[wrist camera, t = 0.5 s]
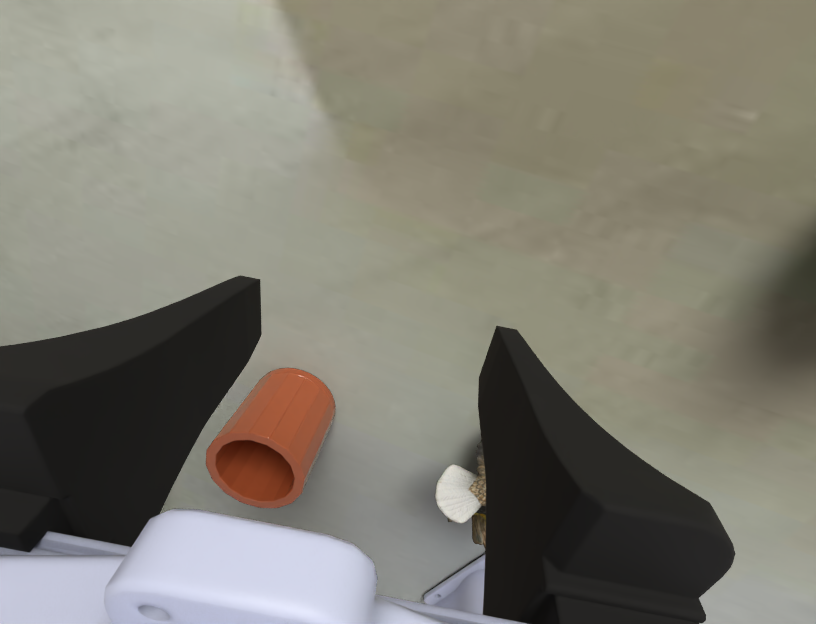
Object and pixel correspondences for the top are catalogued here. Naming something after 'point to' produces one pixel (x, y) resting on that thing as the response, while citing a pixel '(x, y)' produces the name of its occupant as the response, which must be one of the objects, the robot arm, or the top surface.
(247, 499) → the pot
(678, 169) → the top surface
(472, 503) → the eagle figurine
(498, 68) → the top surface
